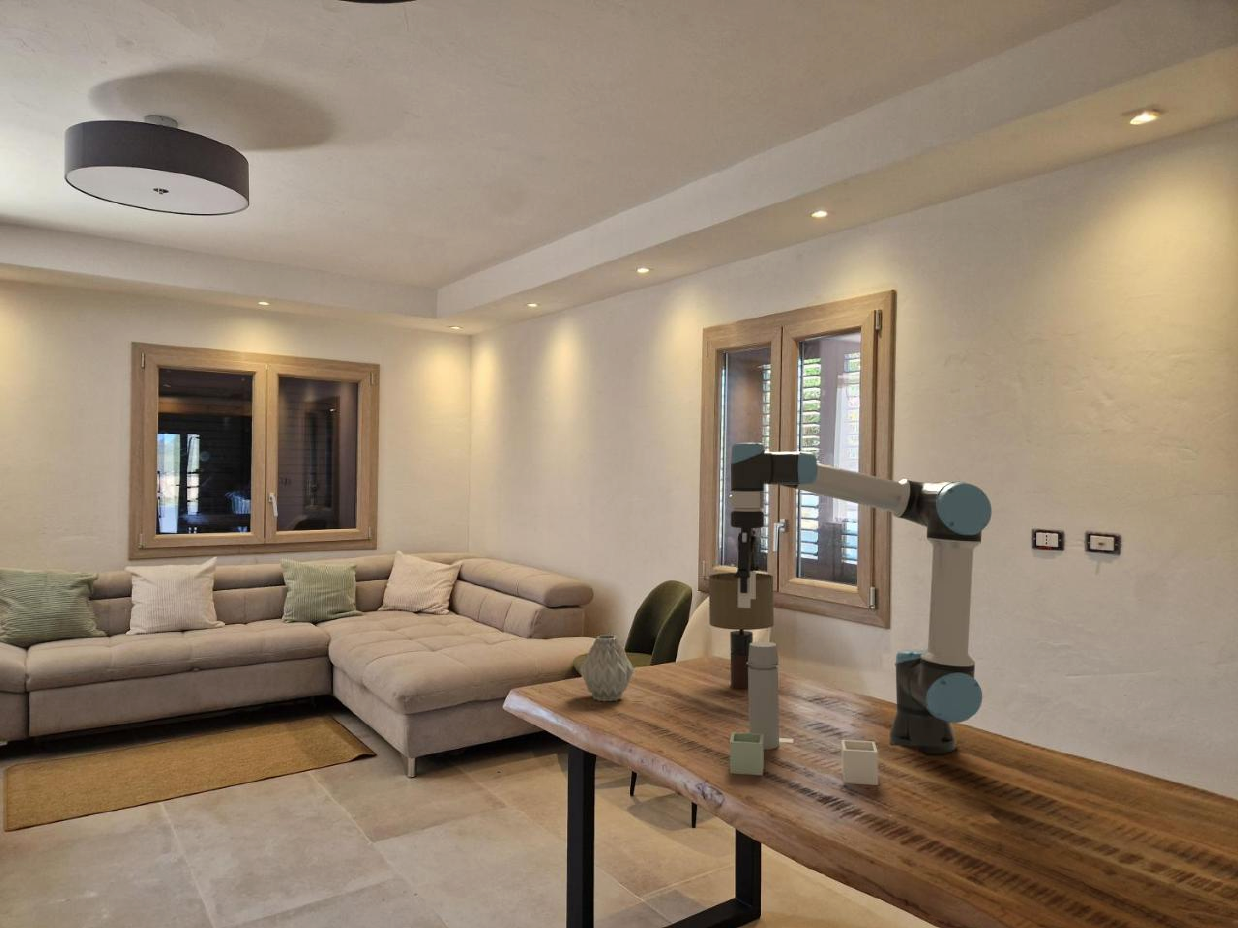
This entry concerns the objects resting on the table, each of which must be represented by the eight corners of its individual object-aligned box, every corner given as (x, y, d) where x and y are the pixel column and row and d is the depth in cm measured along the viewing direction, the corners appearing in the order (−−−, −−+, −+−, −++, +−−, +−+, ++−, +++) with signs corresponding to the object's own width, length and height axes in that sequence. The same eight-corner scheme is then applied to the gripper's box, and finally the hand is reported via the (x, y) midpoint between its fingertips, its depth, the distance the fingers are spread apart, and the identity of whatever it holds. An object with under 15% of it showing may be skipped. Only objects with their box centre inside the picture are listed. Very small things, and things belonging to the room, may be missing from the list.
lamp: (739, 675, 269) (738, 571, 269) (787, 687, 253) (786, 576, 254) (697, 685, 256) (695, 576, 257) (744, 698, 240) (743, 581, 241)
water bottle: (780, 753, 191) (778, 647, 191) (747, 751, 192) (745, 646, 193) (780, 740, 200) (779, 640, 200) (748, 739, 201) (747, 639, 202)
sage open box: (763, 769, 182) (763, 733, 182) (762, 780, 175) (762, 743, 175) (732, 767, 183) (732, 732, 183) (730, 778, 176) (729, 741, 177)
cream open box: (875, 778, 176) (874, 741, 176) (878, 790, 169) (877, 752, 169) (841, 776, 177) (841, 739, 177) (843, 788, 170) (843, 750, 170)
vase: (574, 693, 248) (574, 633, 248) (624, 689, 253) (624, 630, 253) (588, 707, 232) (587, 643, 233) (641, 702, 237) (641, 639, 237)
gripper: (736, 508, 197) (736, 594, 196) (724, 511, 173) (723, 610, 172) (767, 508, 195) (767, 596, 195) (759, 512, 171) (759, 612, 170)
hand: (747, 603), depth 183 cm, fingers open, 13 cm apart
